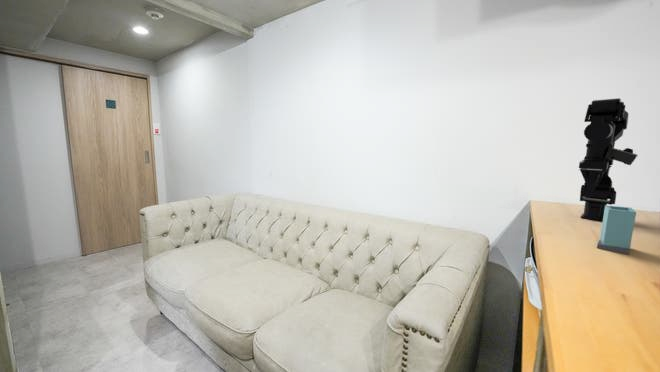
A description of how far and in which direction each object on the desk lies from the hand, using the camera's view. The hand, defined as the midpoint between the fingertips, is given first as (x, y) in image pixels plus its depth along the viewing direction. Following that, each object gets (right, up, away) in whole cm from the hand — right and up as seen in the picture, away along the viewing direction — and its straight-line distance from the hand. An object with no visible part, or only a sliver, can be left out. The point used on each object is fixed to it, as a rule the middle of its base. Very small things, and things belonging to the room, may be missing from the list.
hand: (593, 188), depth 90 cm
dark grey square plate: (-8, -16, -15) cm, 23 cm away
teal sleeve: (-8, -15, -15) cm, 23 cm away
